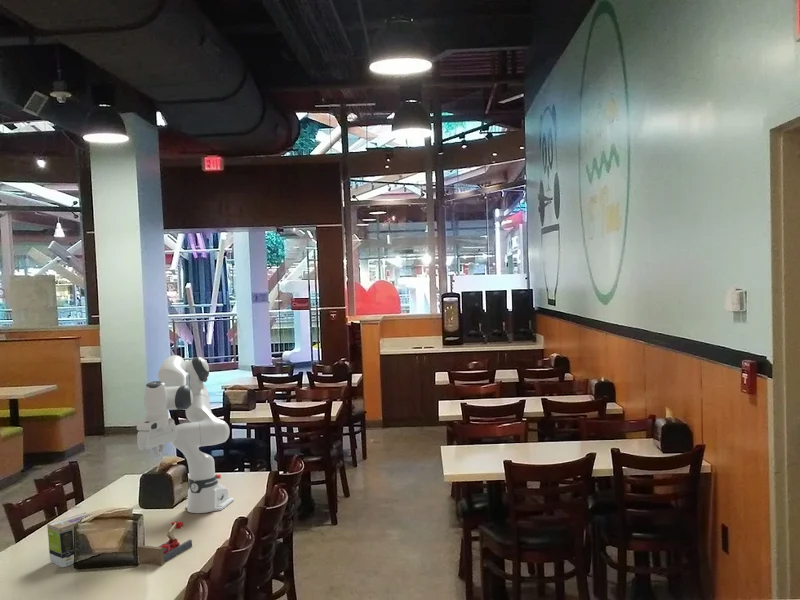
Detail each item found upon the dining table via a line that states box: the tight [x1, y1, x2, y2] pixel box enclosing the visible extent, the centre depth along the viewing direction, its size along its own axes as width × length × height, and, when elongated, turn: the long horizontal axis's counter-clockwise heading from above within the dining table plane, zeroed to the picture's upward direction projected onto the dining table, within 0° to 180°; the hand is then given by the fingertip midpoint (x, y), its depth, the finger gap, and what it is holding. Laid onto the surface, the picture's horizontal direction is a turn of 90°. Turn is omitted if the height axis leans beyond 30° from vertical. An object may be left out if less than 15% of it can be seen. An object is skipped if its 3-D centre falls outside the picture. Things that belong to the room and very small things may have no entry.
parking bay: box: [137, 537, 193, 567], centre depth 266 cm, size 19×10×6 cm, turn 159°
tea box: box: [46, 512, 92, 568], centre depth 267 cm, size 15×10×15 cm, turn 141°
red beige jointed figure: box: [160, 521, 185, 554], centre depth 269 cm, size 3×14×10 cm, turn 171°
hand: (159, 456), depth 291 cm, fingers closed
